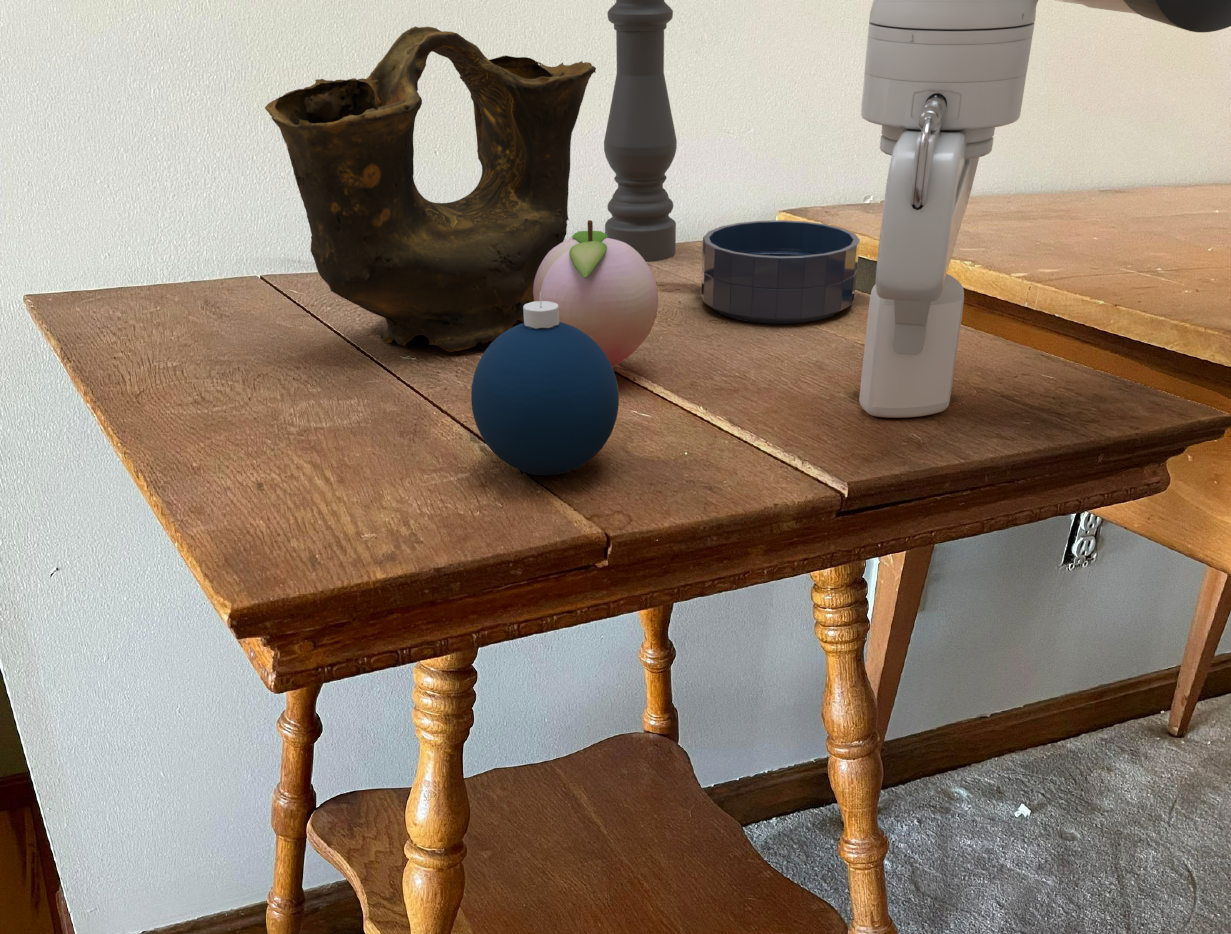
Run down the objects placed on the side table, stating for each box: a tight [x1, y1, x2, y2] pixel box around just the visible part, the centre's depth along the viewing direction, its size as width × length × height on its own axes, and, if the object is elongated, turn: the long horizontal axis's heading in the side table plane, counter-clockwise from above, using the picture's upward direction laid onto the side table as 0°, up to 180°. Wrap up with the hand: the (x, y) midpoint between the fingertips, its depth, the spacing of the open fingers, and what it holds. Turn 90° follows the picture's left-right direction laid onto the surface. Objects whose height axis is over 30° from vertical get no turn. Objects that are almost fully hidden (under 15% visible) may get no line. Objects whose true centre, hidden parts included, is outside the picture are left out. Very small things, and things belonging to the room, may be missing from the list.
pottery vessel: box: [264, 26, 597, 353], centre depth 90 cm, size 25×11×20 cm, turn 131°
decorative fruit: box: [533, 219, 659, 368], centre depth 85 cm, size 9×8×10 cm
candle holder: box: [603, 0, 678, 263], centre depth 104 cm, size 6×6×25 cm
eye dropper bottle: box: [858, 273, 965, 419], centre depth 78 cm, size 4×6×12 cm
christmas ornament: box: [470, 293, 620, 476], centre depth 71 cm, size 8×8×10 cm
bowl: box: [701, 219, 861, 325], centre depth 100 cm, size 12×12×5 cm
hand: (912, 337), depth 79 cm, fingers closed on eye dropper bottle, 4 cm apart
